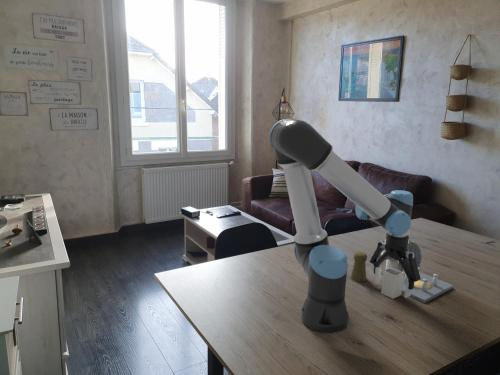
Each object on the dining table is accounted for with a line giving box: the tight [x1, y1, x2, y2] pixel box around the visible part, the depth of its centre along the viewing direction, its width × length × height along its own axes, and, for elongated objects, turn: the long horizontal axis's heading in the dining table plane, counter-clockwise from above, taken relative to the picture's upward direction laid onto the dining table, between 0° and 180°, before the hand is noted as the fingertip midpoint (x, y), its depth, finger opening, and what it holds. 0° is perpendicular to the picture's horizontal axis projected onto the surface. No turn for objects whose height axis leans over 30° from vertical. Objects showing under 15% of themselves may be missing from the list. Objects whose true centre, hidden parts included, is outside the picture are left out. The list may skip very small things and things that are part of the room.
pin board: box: [401, 266, 454, 304], centre depth 142 cm, size 20×15×6 cm
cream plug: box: [381, 267, 405, 300], centre depth 136 cm, size 5×5×9 cm
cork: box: [350, 251, 368, 283], centre depth 148 cm, size 6×6×11 cm
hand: (391, 289), depth 137 cm, fingers open, 12 cm apart
